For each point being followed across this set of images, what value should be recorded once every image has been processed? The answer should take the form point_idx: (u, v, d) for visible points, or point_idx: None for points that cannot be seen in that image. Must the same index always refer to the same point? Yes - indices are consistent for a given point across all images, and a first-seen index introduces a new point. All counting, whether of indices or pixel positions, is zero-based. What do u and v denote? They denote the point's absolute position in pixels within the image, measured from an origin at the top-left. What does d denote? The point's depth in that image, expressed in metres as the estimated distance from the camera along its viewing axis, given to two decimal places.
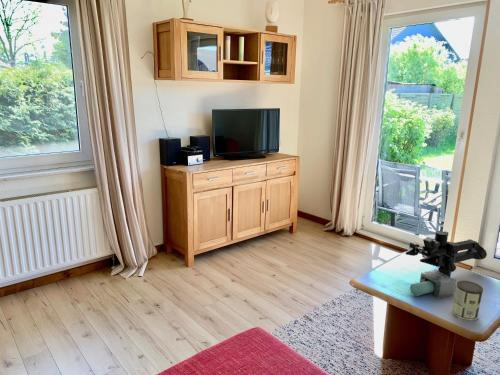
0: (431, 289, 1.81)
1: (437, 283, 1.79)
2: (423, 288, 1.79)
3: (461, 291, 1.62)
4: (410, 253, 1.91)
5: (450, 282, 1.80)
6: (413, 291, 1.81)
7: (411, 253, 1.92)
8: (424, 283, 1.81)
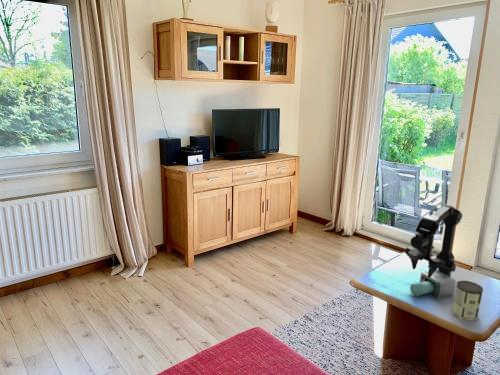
0: (431, 289, 1.81)
1: (437, 283, 1.79)
2: (423, 288, 1.79)
3: (461, 291, 1.62)
4: (415, 262, 1.83)
5: (450, 282, 1.80)
6: (413, 291, 1.81)
7: (416, 260, 1.83)
8: (424, 283, 1.81)
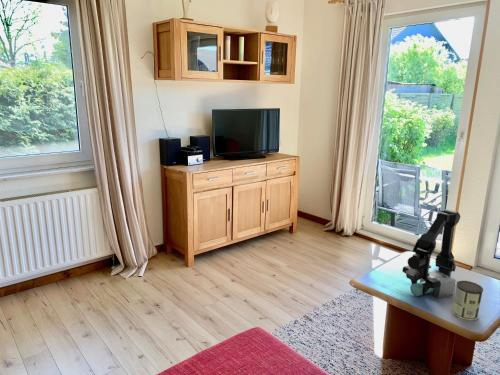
0: (431, 289, 1.81)
1: None
2: None
3: (461, 291, 1.62)
4: (415, 282, 1.84)
5: (450, 282, 1.80)
6: (413, 291, 1.81)
7: (416, 280, 1.84)
8: None
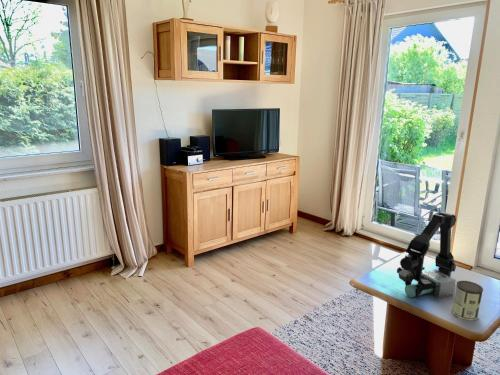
0: (426, 290, 1.79)
1: (437, 283, 1.79)
2: None
3: (461, 291, 1.62)
4: (409, 283, 1.82)
5: (450, 282, 1.80)
6: (408, 292, 1.80)
7: (410, 282, 1.82)
8: None
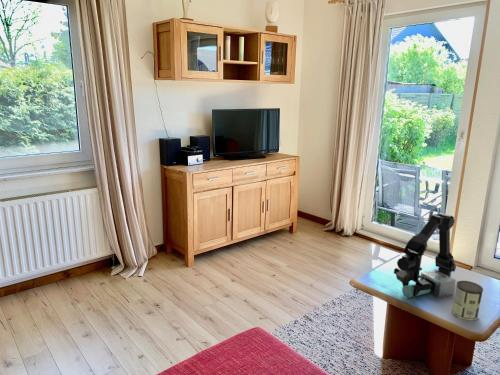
0: (423, 291, 1.79)
1: (437, 283, 1.79)
2: None
3: (461, 291, 1.62)
4: (407, 284, 1.82)
5: (450, 282, 1.80)
6: (405, 293, 1.79)
7: (407, 282, 1.82)
8: None
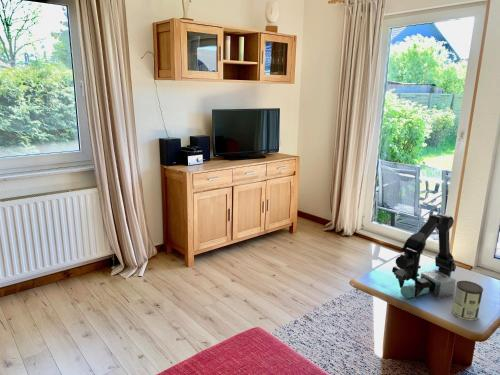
0: (422, 291, 1.78)
1: (437, 283, 1.79)
2: (413, 290, 1.76)
3: (461, 291, 1.62)
4: (403, 281, 1.82)
5: (450, 282, 1.80)
6: (403, 293, 1.79)
7: None
8: (414, 285, 1.79)
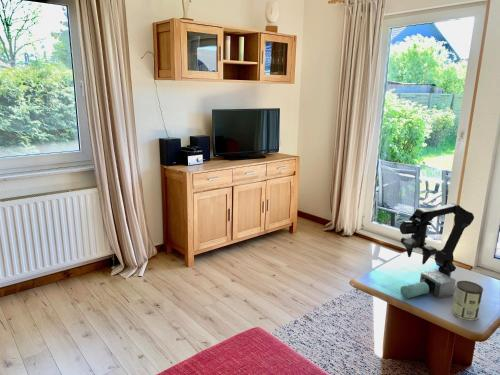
0: (422, 291, 1.78)
1: (437, 283, 1.79)
2: (413, 290, 1.76)
3: (461, 291, 1.62)
4: (410, 251, 1.97)
5: (450, 282, 1.80)
6: (403, 293, 1.79)
7: (411, 249, 1.96)
8: (414, 285, 1.79)
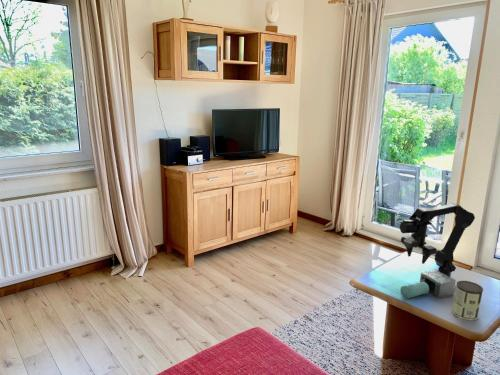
0: (422, 291, 1.78)
1: (437, 283, 1.79)
2: (413, 290, 1.76)
3: (461, 291, 1.62)
4: (410, 250, 1.97)
5: (450, 282, 1.80)
6: (403, 293, 1.79)
7: (411, 248, 1.97)
8: (414, 285, 1.79)
